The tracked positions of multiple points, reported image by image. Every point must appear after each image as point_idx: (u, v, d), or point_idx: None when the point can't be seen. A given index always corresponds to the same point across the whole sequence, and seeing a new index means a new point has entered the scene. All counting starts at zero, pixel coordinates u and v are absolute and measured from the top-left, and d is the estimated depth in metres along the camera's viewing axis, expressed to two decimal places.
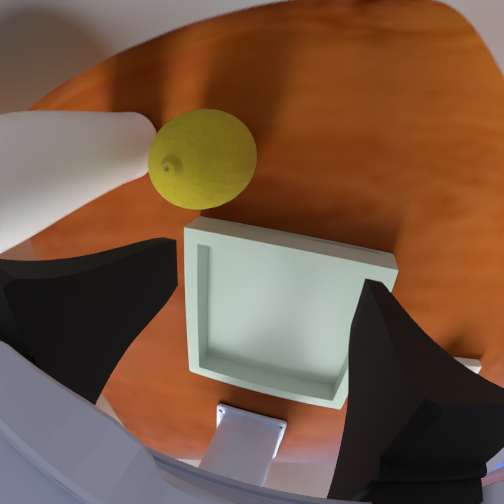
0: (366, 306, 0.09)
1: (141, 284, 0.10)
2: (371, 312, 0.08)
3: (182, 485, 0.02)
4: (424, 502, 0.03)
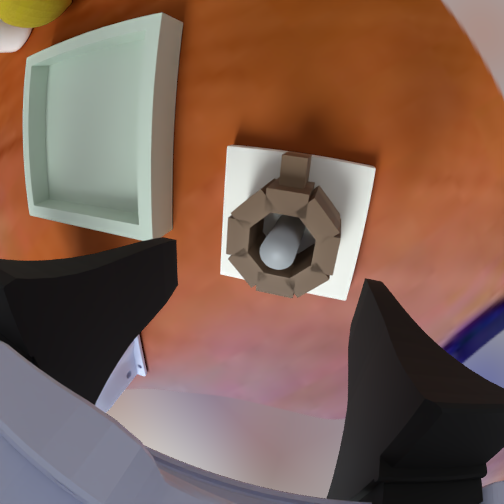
0: (366, 306, 0.09)
1: (141, 284, 0.10)
2: (371, 312, 0.08)
3: (182, 485, 0.02)
4: (424, 502, 0.03)
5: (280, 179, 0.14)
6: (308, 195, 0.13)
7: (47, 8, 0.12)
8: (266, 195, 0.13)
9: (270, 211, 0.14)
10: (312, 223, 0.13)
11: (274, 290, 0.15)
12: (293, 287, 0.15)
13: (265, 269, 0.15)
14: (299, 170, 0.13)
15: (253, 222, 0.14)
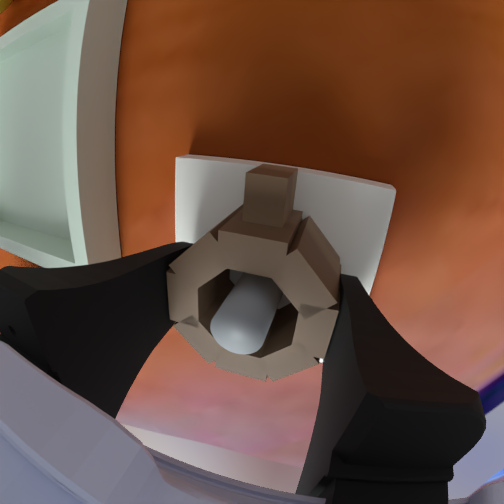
0: None
1: (162, 291, 0.09)
2: (341, 306, 0.08)
3: (182, 485, 0.02)
4: (379, 503, 0.03)
5: (244, 212, 0.09)
6: (286, 243, 0.08)
7: None
8: (220, 241, 0.08)
9: (226, 266, 0.09)
10: (293, 287, 0.08)
11: (240, 370, 0.10)
12: (267, 369, 0.10)
13: None
14: (274, 198, 0.08)
15: (202, 281, 0.09)
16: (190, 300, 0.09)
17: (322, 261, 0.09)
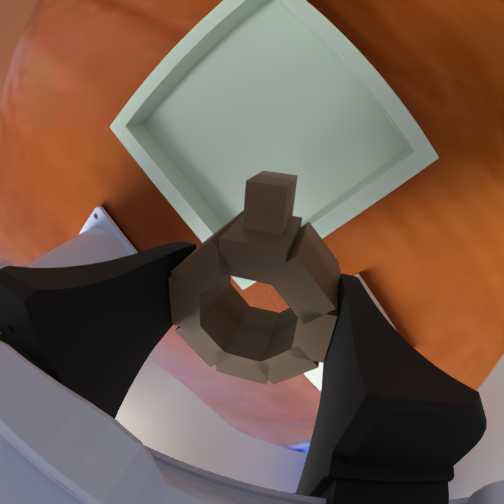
0: (339, 301, 0.09)
1: (162, 290, 0.09)
2: (342, 306, 0.08)
3: (182, 485, 0.02)
4: (380, 503, 0.03)
5: (244, 219, 0.09)
6: (286, 251, 0.08)
7: None
8: (221, 248, 0.09)
9: (227, 273, 0.09)
10: (292, 294, 0.08)
11: (241, 373, 0.10)
12: (267, 373, 0.10)
13: (227, 344, 0.10)
14: (274, 206, 0.09)
15: (203, 287, 0.09)
16: (192, 305, 0.10)
17: (321, 267, 0.09)
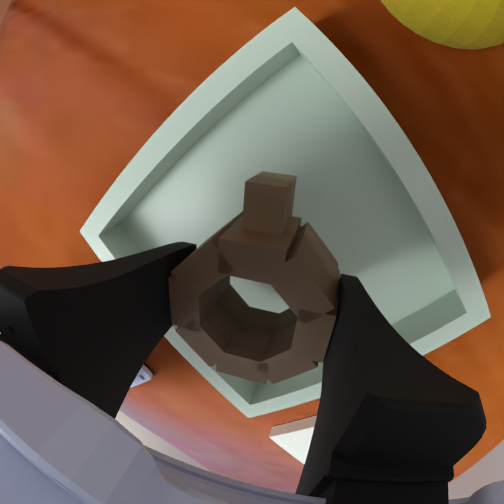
0: (339, 301, 0.09)
1: (162, 290, 0.09)
2: (342, 306, 0.08)
3: (182, 485, 0.02)
4: (380, 503, 0.03)
5: (244, 220, 0.09)
6: (285, 251, 0.08)
7: (454, 41, 0.05)
8: (220, 249, 0.09)
9: (226, 273, 0.09)
10: (292, 294, 0.08)
11: (240, 373, 0.10)
12: (267, 373, 0.10)
13: (227, 345, 0.10)
14: (273, 206, 0.09)
15: (203, 287, 0.09)
16: (191, 306, 0.10)
17: (320, 267, 0.09)
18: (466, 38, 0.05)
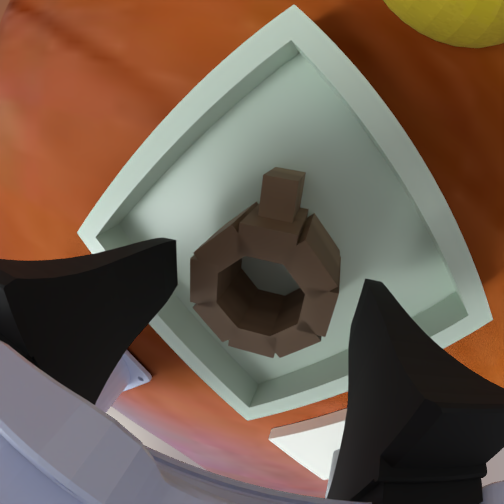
0: (366, 306, 0.09)
1: (141, 284, 0.10)
2: (371, 312, 0.08)
3: (182, 485, 0.02)
4: (424, 502, 0.03)
5: (260, 208, 0.10)
6: (297, 235, 0.09)
7: (457, 39, 0.05)
8: (240, 232, 0.10)
9: (244, 254, 0.10)
10: (301, 273, 0.10)
11: (251, 348, 0.12)
12: (275, 347, 0.11)
13: (239, 321, 0.12)
14: (286, 197, 0.10)
15: (222, 266, 0.10)
16: (210, 284, 0.11)
17: (325, 252, 0.10)
18: (469, 36, 0.05)
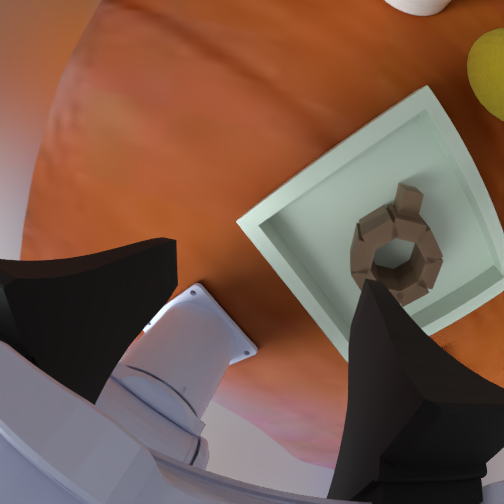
0: (366, 306, 0.09)
1: (141, 284, 0.10)
2: (371, 312, 0.08)
3: (182, 485, 0.02)
4: (424, 502, 0.03)
5: (400, 209, 0.15)
6: (426, 226, 0.14)
7: None
8: (393, 223, 0.15)
9: (395, 237, 0.15)
10: (425, 248, 0.15)
11: None
12: (401, 299, 0.16)
13: None
14: (416, 203, 0.15)
15: (380, 245, 0.15)
16: (369, 257, 0.16)
17: None
18: None
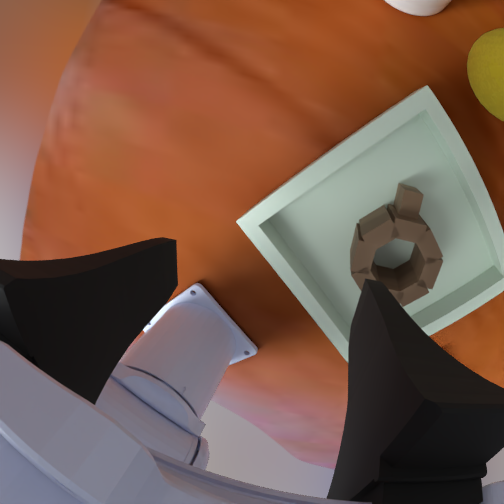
0: (366, 306, 0.09)
1: (141, 284, 0.10)
2: (371, 312, 0.08)
3: (182, 485, 0.02)
4: (424, 502, 0.03)
5: (400, 209, 0.15)
6: (426, 226, 0.14)
7: None
8: (393, 223, 0.15)
9: (395, 237, 0.15)
10: (425, 248, 0.15)
11: None
12: (401, 299, 0.16)
13: None
14: (416, 203, 0.15)
15: (380, 245, 0.15)
16: (369, 257, 0.16)
17: None
18: None
